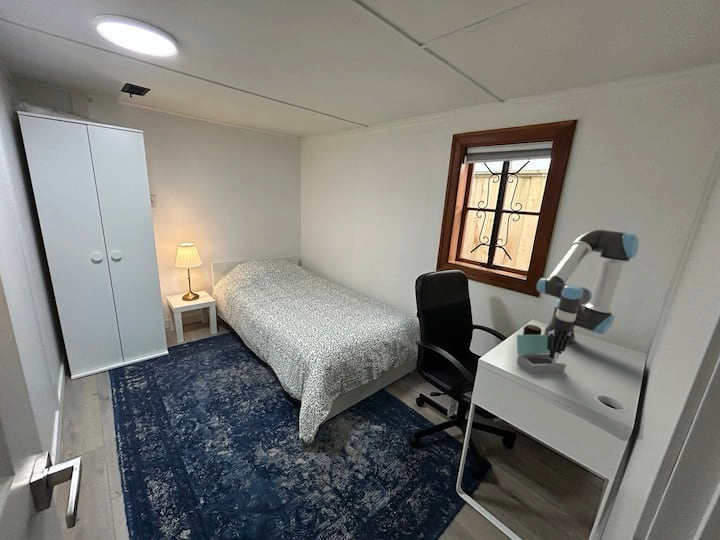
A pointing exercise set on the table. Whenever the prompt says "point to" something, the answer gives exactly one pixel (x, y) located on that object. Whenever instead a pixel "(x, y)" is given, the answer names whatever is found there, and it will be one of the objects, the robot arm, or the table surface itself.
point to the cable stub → (540, 361)
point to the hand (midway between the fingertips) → (551, 363)
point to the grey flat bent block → (539, 368)
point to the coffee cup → (532, 330)
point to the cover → (532, 344)
